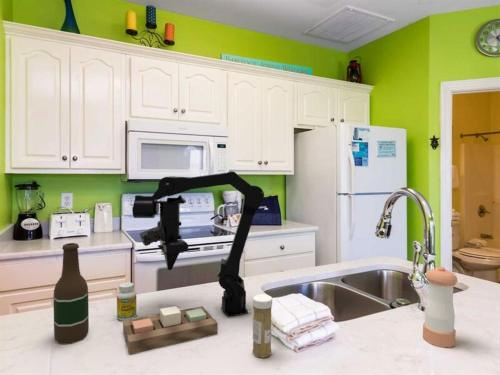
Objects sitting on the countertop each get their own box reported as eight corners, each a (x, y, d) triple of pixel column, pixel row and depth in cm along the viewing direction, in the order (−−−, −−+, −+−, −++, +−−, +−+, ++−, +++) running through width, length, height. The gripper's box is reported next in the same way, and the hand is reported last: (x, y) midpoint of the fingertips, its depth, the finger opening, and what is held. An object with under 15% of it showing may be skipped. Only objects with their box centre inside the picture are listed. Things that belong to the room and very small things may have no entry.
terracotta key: (149, 329, 86) (149, 318, 86) (153, 336, 82) (153, 325, 82) (132, 332, 84) (132, 321, 84) (134, 340, 80) (134, 328, 80)
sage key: (200, 318, 93) (200, 308, 92) (206, 325, 89) (206, 314, 88) (185, 322, 90) (185, 311, 90) (190, 328, 87) (190, 317, 86)
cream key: (176, 316, 89) (176, 306, 89) (180, 323, 85) (180, 312, 85) (159, 320, 87) (159, 309, 87) (163, 327, 83) (163, 315, 83)
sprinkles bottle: (273, 357, 76) (274, 300, 75) (254, 359, 75) (255, 301, 74) (268, 347, 80) (269, 293, 80) (250, 349, 79) (250, 294, 78)
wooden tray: (202, 316, 97) (202, 306, 97) (217, 334, 86) (217, 322, 86) (123, 331, 87) (123, 320, 86) (129, 354, 76) (129, 342, 76)
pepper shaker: (443, 350, 80) (447, 273, 79) (416, 337, 86) (419, 265, 85) (461, 343, 83) (464, 269, 82) (433, 331, 89) (436, 262, 88)
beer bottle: (95, 332, 86) (94, 242, 85) (70, 347, 79) (69, 248, 78) (72, 327, 89) (71, 239, 88) (46, 341, 81) (45, 245, 80)
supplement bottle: (133, 311, 99) (133, 280, 99) (138, 318, 95) (138, 285, 94) (115, 315, 96) (114, 283, 96) (119, 322, 92) (118, 289, 91)
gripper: (136, 215, 102) (136, 264, 103) (147, 224, 86) (147, 283, 87) (172, 214, 108) (172, 260, 108) (189, 222, 91) (188, 277, 92)
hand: (169, 269), depth 99 cm, fingers closed
